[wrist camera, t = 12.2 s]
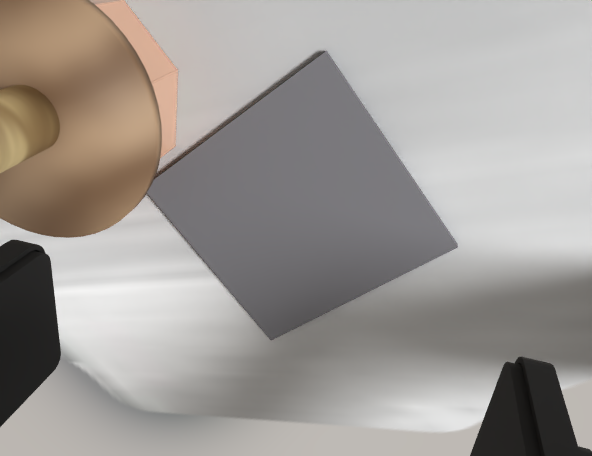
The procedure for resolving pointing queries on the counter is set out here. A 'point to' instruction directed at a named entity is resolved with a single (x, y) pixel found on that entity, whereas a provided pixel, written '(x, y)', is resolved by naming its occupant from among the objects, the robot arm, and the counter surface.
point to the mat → (301, 203)
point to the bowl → (149, 65)
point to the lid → (72, 119)
